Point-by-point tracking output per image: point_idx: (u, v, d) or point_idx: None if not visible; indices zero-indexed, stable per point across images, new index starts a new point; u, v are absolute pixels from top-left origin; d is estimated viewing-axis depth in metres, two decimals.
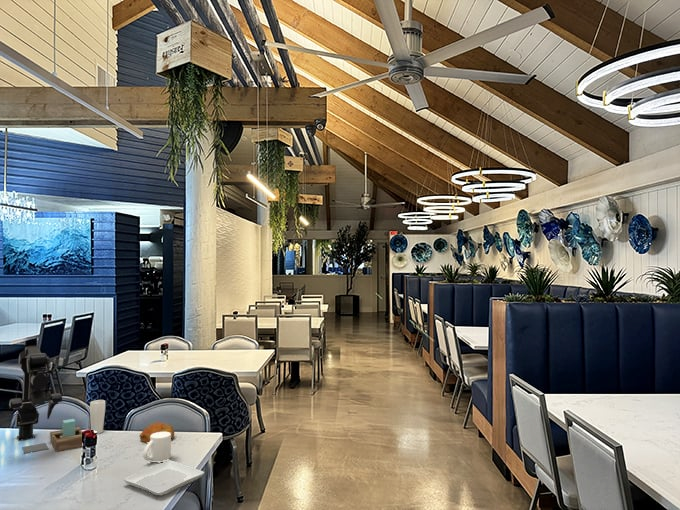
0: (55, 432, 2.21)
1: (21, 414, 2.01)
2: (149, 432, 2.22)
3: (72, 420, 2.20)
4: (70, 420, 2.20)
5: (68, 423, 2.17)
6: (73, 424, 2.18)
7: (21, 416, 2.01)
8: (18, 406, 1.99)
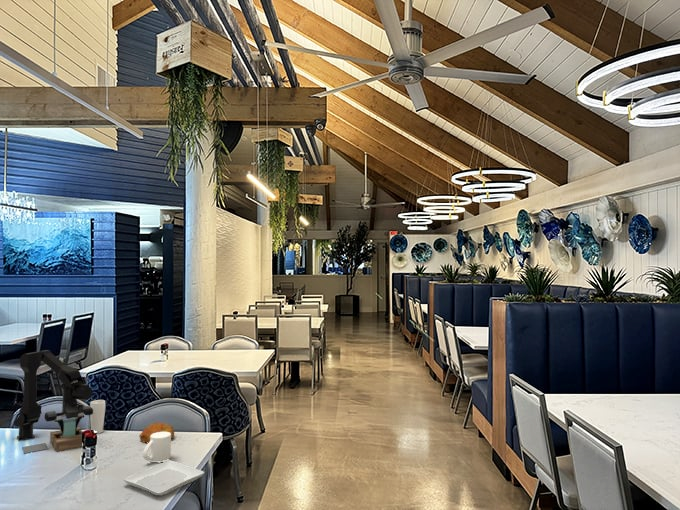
0: (55, 432, 2.21)
1: (62, 425, 2.17)
2: (148, 432, 2.22)
3: (72, 420, 2.20)
4: (70, 420, 2.20)
5: (68, 423, 2.17)
6: (73, 424, 2.18)
7: (61, 427, 2.17)
8: (53, 419, 2.13)
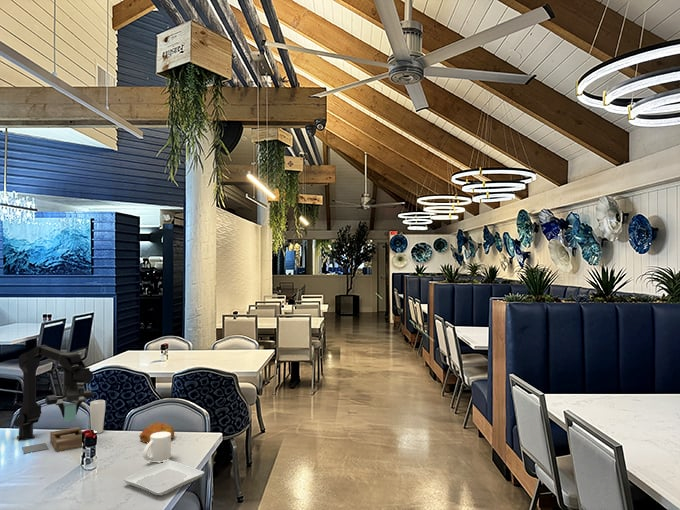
0: (55, 432, 2.21)
1: (62, 409, 2.17)
2: (148, 432, 2.22)
3: (73, 404, 2.20)
4: (71, 404, 2.20)
5: (69, 407, 2.17)
6: (74, 408, 2.19)
7: (62, 411, 2.17)
8: (54, 402, 2.13)
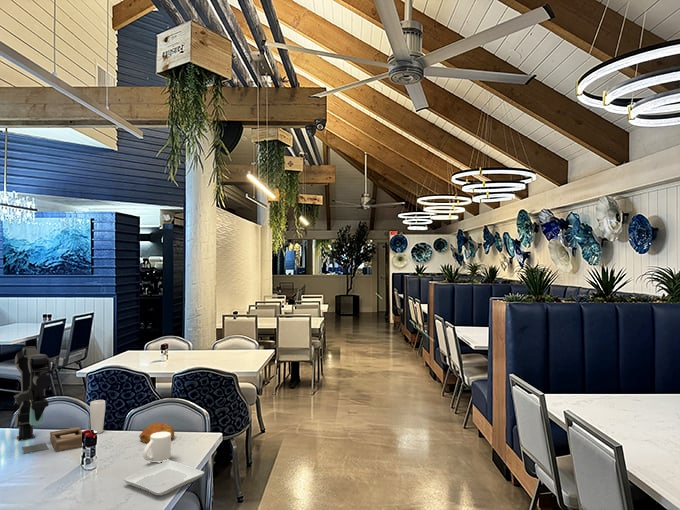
0: (55, 432, 2.21)
1: None
2: (148, 432, 2.22)
3: None
4: None
5: (30, 409, 2.13)
6: (31, 412, 2.11)
7: None
8: (26, 399, 2.17)
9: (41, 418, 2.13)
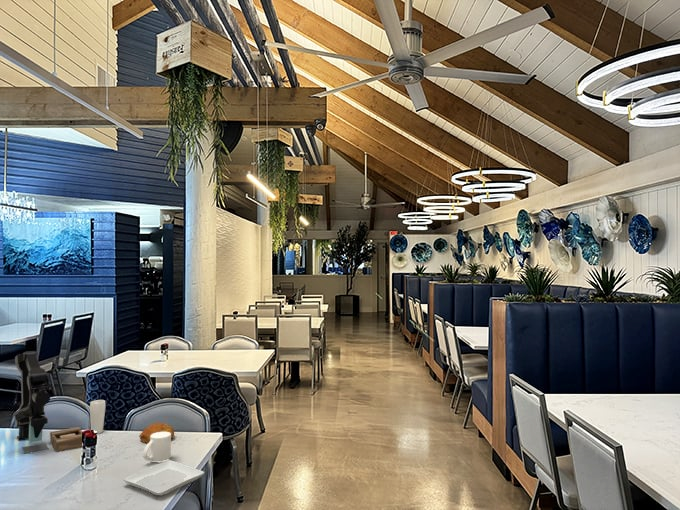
0: (55, 432, 2.21)
1: None
2: (148, 432, 2.22)
3: None
4: None
5: (29, 426, 2.12)
6: (30, 429, 2.11)
7: None
8: None
9: (40, 435, 2.13)
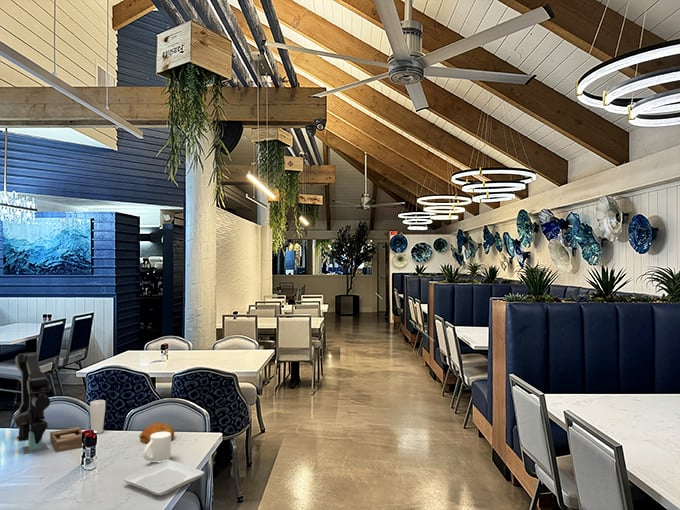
0: (55, 432, 2.21)
1: None
2: (148, 432, 2.22)
3: None
4: None
5: (29, 433, 2.12)
6: (29, 436, 2.11)
7: None
8: None
9: (40, 442, 2.12)
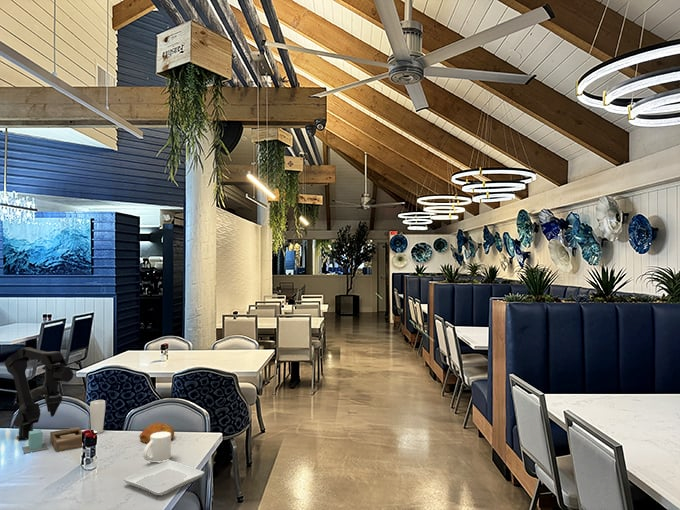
0: (55, 432, 2.21)
1: None
2: (148, 432, 2.22)
3: (35, 432, 2.12)
4: (36, 431, 2.13)
5: (29, 433, 2.12)
6: (29, 436, 2.11)
7: None
8: (41, 394, 2.25)
9: (40, 442, 2.12)
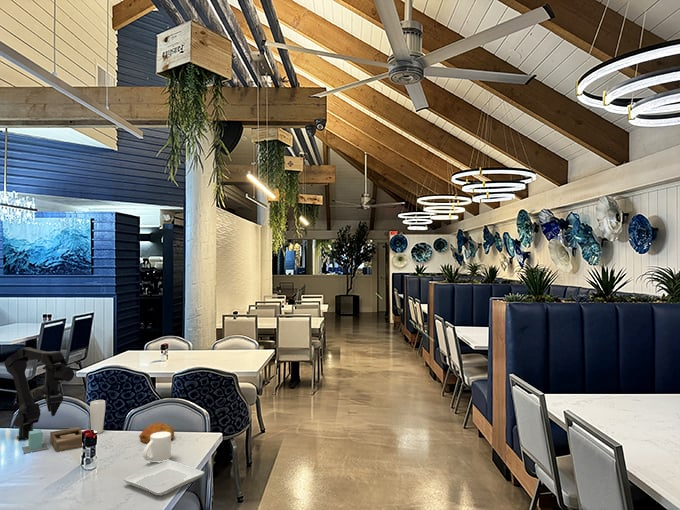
0: (55, 432, 2.21)
1: (47, 403, 2.25)
2: (148, 432, 2.22)
3: (35, 432, 2.12)
4: (36, 431, 2.13)
5: (29, 433, 2.12)
6: (29, 436, 2.11)
7: (47, 404, 2.25)
8: (41, 394, 2.25)
9: (40, 442, 2.12)
